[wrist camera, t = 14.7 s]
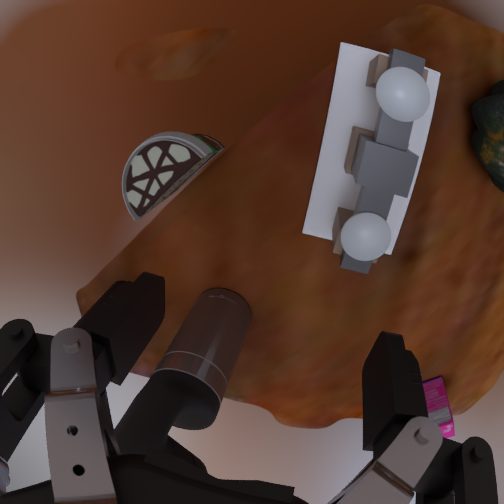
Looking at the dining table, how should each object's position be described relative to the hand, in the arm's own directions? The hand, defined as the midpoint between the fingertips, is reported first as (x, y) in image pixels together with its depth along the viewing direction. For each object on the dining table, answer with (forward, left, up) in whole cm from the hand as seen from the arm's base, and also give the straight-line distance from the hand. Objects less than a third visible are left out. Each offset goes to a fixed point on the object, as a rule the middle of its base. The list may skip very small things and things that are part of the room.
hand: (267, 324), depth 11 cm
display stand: (+3, -7, -30) cm, 31 cm away
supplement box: (-34, -33, -30) cm, 56 cm away
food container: (-2, +16, -30) cm, 34 cm away
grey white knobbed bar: (+3, -7, -25) cm, 26 cm away
